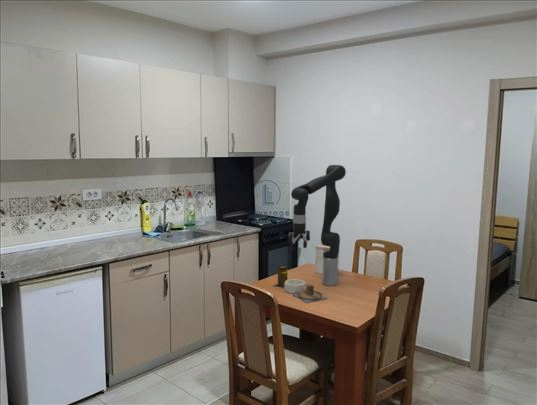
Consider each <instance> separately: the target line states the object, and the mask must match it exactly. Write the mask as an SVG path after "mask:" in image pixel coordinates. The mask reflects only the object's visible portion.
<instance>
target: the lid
mask: <svg viewBox="0 0 537 405" xmlns="http://www.w3.org/2000/svg"><path fill="white" fill-rule="evenodd" d="M322 296H323V293H321V292H320V291H318V290H317V291H316V290H315V285H313V284H307V285H306V288H305V290H304V291H300V292H298V297H299V298H301V299H304V300H319V299H321V298H322ZM299 298H298V299H299Z"/></svg>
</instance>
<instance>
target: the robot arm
mask: <svg viewBox="0 0 537 405" xmlns="http://www.w3.org/2000/svg"><path fill="white" fill-rule="evenodd" d="M346 173H347V171H346V167H344V165H340V164H330V165H328V166H327V168H326V170H325V175H321V176H319V177H316V178H314V179H312V180H310V181H308V182H307V183H304V184H302V185H299V186H296V187H294V188H293V189H292V191H291V193H290V195H291V197H292V199H293V200H297V201H298V202H297V204H294V205H293V216H292V232H290V231H289V232H288V235H287V236H288V237H287V242H288V243H290V249H291V250H292V251H295V250H296V249H295V247H296V246H295V245H296V241H297V240H302V241H303V246H302V248H303V249H307V247H308V242H309V241H310V240H311V234H310V233H311V231H310V230H307V227H306V225H307V224H306V223H307V222H306V220H307V218H306V213H307V212H306V211H307V210H306V207H307V204H308V201H309V195H312V194H315V193H316V192H317V191H319V190H321V189H322V188H324V187H325V199H324V200H325V201H324V210H323V212H324V214H323V215H324V216H323V221H322V229H321V235H320V242H321V243H320V244H323V245H325V246H329V247H330V250H329V251H326V252H324V253H323V274H321V275H322V278H321V283H322V284H323V285H324V286H330V287H331V286H336V285H338V284H339V269H337V265H338V253H339V254H340V244H341V243H340V242H341V237H340V234H339V233H338V232H333V231H331V230H332V229H331V228H332V224H333V222H334V220H335V219H336V218H337V216H338V215H339V212H340V208H341V207H340V205H341V203H340V202H341V200H340V196H339V194H338V192H337V189H336V188H337V187H336V182H337V181H340V180H342V179H344V178H345V176H346Z"/></svg>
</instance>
